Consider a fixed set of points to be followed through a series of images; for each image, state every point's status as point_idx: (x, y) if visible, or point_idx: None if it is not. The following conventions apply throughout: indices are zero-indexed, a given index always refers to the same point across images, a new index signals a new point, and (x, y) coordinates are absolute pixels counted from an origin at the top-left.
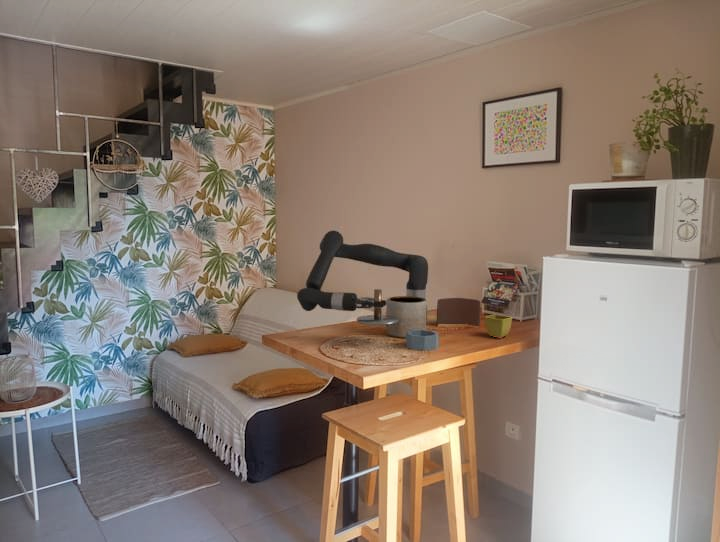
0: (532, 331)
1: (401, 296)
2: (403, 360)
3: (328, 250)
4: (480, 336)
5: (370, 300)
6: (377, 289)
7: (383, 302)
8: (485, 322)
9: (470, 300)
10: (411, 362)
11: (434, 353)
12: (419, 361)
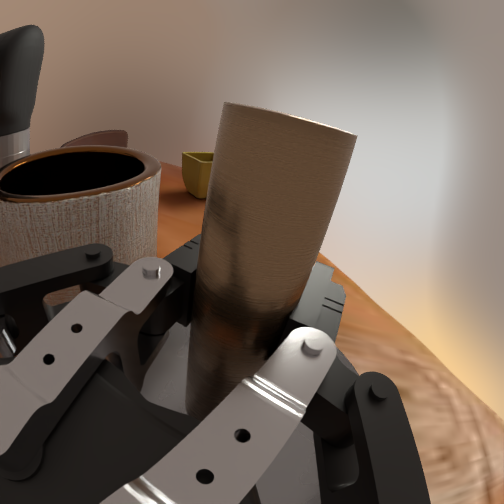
0: (179, 167)
1: (12, 163)
2: (434, 396)
3: None
4: (187, 204)
5: (131, 340)
6: (256, 107)
7: (322, 266)
8: (200, 173)
9: (114, 133)
10: (442, 380)
11: (349, 317)
12: (429, 363)
